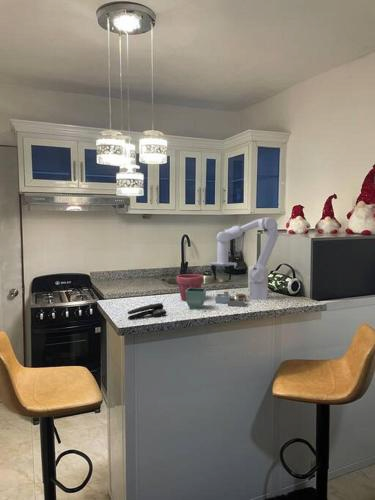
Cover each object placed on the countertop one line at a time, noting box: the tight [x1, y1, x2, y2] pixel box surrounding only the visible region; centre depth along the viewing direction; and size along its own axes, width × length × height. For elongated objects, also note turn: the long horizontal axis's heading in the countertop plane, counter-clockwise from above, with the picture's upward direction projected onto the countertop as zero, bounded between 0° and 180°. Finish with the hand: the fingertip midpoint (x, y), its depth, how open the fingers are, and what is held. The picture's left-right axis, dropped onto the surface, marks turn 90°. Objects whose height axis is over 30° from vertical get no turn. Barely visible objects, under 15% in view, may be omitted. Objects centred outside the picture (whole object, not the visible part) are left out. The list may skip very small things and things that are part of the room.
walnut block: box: [235, 293, 247, 303], centre depth 202 cm, size 4×4×4 cm
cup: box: [215, 293, 231, 305], centre depth 200 cm, size 7×7×4 cm
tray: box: [227, 298, 246, 308], centre depth 194 cm, size 8×8×3 cm
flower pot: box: [185, 287, 207, 310], centre depth 189 cm, size 9×9×9 cm
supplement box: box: [247, 265, 269, 294], centre depth 229 cm, size 9×9×15 cm
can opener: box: [127, 302, 167, 320], centre depth 173 cm, size 18×7×6 cm, turn 120°
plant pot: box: [176, 273, 204, 302], centre depth 208 cm, size 14×14×13 cm
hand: (222, 279), depth 209 cm, fingers open, 7 cm apart
